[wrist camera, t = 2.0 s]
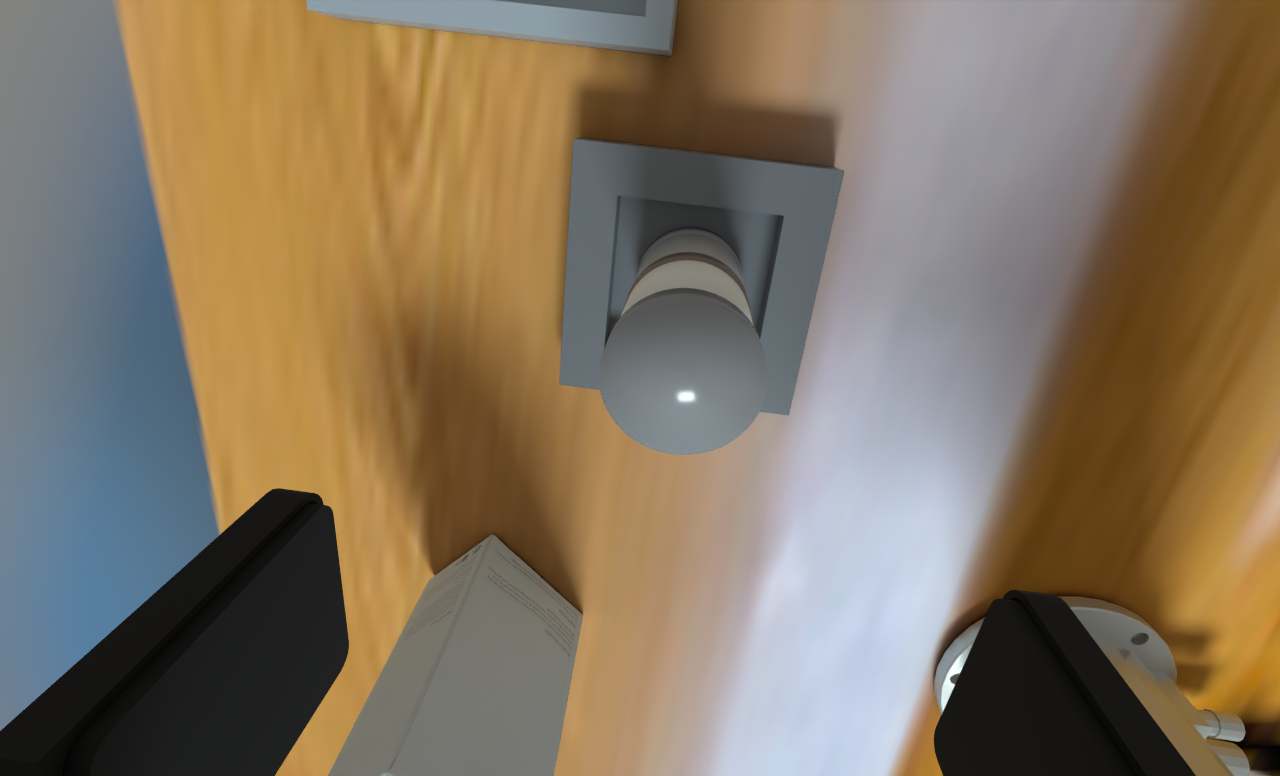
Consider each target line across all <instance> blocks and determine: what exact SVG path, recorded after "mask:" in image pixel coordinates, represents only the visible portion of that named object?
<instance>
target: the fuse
mask: <svg viewBox="0 0 1280 776" xmlns="http://www.w3.org/2000/svg"><path fill="white" fill-rule="evenodd" d="M767 384H768V371H767V364H766V359H765V356H764V352H763V348H762V345H761V341H760V338H759V336H758V333H757V331H756V329H755V327H754V326H753V322H752V315H751V308H750V304H749V300H748V297H747V293H746V290H745V288H744V278H743V272H742V268H741V265H740V261H739V259H738V256H737V254H736V252H735V251H734V249H733V248H732V246H731V245H730V244H729V243H728V242H727V241H726V240H725V239H724V238H723V237H721V236H720V235H718V234H717V233H715V232H713V231H711V230H708V229H705V228H700V227H681V228H676V229H673V230H670V231H668V232H666V233H664V234H663V235H661V236H660V237H658V238H657V239H656V240H655V241H654V242H652V244H651V245H650V246H649V247H648V248H647V250H646V252H645V253H644V255H643V257H642V259H641V262H640V264H639V267H638V270H637V273H636V279H635V281H634V283H633V285H632V287H631V289H630V291H629V294H628V296H627V299H626V302H625V305H624V309H623V312H622V315H621V317H620V318H619V320H618V321H617V323H616V324H615V326H614V327H613V330H612V332H611V334H610V336H609V338H608V341H607V343H606V346H605V348H604V350H603V354H602V357H601V360H600V367H599V386H600V392H601V395H602V399H603V402H604V404H605V406H606V409H607V411H608V412H609V414H610V416H611V417H612V419H613V420H614V421H615V423H616V424H617V425H618V426H619V427H620V428H621V429H622V430H623V431H624V432H625V433H626V434H627V435H628V436H630V437H631V438H632V439H634V440H635V441H637V442H639V443H640V444H642V445H644V446H646V447H649V448H651V449H654V450H657V451H660V452H664V453H669V454H678V455H691V454H699V453H704V452H708V451H712V450H715V449H717V448H720V447H722V446H724V445H726V444H728V443H730V442H731V441H733V440H734V439H736V438H737V437H738V436H740V435H741V434H742V433H743V432H744V431H745V430H746V429H747V428H748V427H749V426H750V425H751V423H752V422H753V421H754V420H755V418H756V416H757V415H758V413H759V412H760V409H761V407H762V405H763V403H764V399H765V396H766V392H767Z"/></svg>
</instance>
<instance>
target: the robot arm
mask: <svg viewBox="0 0 1280 776" xmlns="http://www.w3.org/2000/svg"><path fill="white" fill-rule="evenodd" d="M348 649H349V640H348V631H347V623H346V615H345V607H344V598H343V590H342V582H341V574H340V565H339V557H338V549H337V540H336V532H335V524H334V516H333V511H332V509H331V508H330V507H329V506H326V505H323V501H322V499H321V497H320V496H319V495H317V494H315V493H308V492H301V491H294V490H287V489H279V488H278V489H272V490H271V491H269V492H268V493H266V494H265V495H264V496H263V497H262V498H261V499H260V500H259V501H257V502H256V503H255V504H254V505H253V506H252V507H251V508H250V509H249V510H247V511H246V512H245V513H244V514H243V515H242V516H241V517H240V518H238V519H237V520H236V521H235V522H234V523H233V524H232V525H231V526H229V527H228V528H227V529H226V530H225V531H224V532H223V533H222V534H221V535H219V536H218V537H217V538H216V539H215V540H214V541H213V542H212V543H210V545H208V546H207V547H206V548H205V549H204V550H203V551H201V552H200V553H199V554H198V555H197V556H196V557H195V558H194V559H193V560H191V561H190V562H189V563H188V564H187V565H186V566H185V567H184V568H183V569H181V570H180V571H179V572H178V573H177V574H176V575H175V576H174V577H172V578H171V579H170V580H169V581H168V582H167V583H166V584H165V585H163V586H162V587H161V588H160V589H159V590H158V591H157V592H156V593H154V594H153V595H152V596H151V597H150V598H149V599H148V600H147V601H146V602H144V603H143V604H142V605H141V606H140V607H139V608H138V609H137V610H136V611H134V612H133V613H132V614H131V615H130V616H129V617H128V618H126V619H125V620H124V621H123V622H122V623H121V624H120V625H119V626H118V627H117V628H116V629H114V630H113V631H112V632H111V633H110V634H109V635H107V636H106V637H105V638H104V639H103V640H102V641H101V642H100V643H98V644H97V645H96V646H95V647H94V648H93V649H92V650H91V651H90V652H89V653H87V654H86V655H85V656H84V657H83V658H82V659H81V660H79V661H78V662H77V663H76V664H75V665H74V666H73V667H72V668H71V669H70V670H68V671H67V672H66V673H65V674H64V675H63V676H62V677H60V678H59V679H58V680H57V681H56V682H55V683H54V684H53V685H51V686H50V687H49V688H48V689H47V690H46V691H45V692H44V693H42V694H41V695H40V696H39V697H38V698H37V699H36V700H35V701H34V702H32V703H31V704H30V705H29V706H28V707H27V708H26V709H25V710H23V711H22V712H21V713H20V714H19V715H18V716H17V717H16V718H14V719H13V720H12V721H11V722H10V723H9V724H8V725H7V726H6V727H5V728H3V729H2V730H1V731H0V776H275V774H276V773H277V771H278V770H279V768H280V766H281V765H282V763H283V762H284V760H285V758H286V757H287V755H288V754H289V752H290V751H291V749H292V747H293V746H294V744H295V743H296V741H297V740H298V738H299V736H300V735H301V733H302V732H303V730H304V728H305V727H306V725H307V724H308V722H309V721H310V719H311V717H312V716H313V714H314V713H315V711H316V709H317V708H318V706H319V705H320V703H321V702H322V700H323V698H324V697H325V695H326V694H327V692H328V691H329V689H330V687H331V686H332V684H333V683H334V681H335V679H336V678H337V676H338V675H339V673H340V672H341V670H342V668H343V666H344V663H345V661H346V658H347V654H348ZM1176 679H1177V671H1176V665H1175V659H1174V657H1173V655H1172V653H1171V651H1170V649H1169V647H1168V645H1167V644H1166V643H1165V641H1164V640H1163V639H1162V638H1161V637H1160V636H1159V634H1158V633H1157V632H1156V631H1155V630H1154V629H1153V627H1152V626H1150V625H1149V624H1148V623H1147V622H1146V621H1145V620H1143V619H1142V618H1141V617H1140V616H1139V615H1137V614H1135V613H1133V612H1131V611H1129V610H1127V609H1126V608H1124V607H1122V606H1119V605H1116V604H1113V603H1110V602H1106V601H1103V600H1099V599H1092V598H1085V597H1057V596H1055V595H1048V594H1041V593H1034V592H1026V591H1019V590H1011V591H1009V592H1008V593H1006V594H1005V595H1004V597H1003V599H996V600H994V601H993V602H992V604H991V605H990V607H989V609H988V612H987V614H986V616H985V617H984V618H983V619H981V620H979V621H978V622H976V623H975V624H973V625H971V626H970V627H969V628H968V629H966V630H965V631H964V632H963V633H962V634H961V635H960V636H958V637H957V638H956V639H955V640H954V642H953V643H952V644H951V645H950V647H949V648H948V649H947V650H946V652H945V653H944V655H943V657H942V659H941V661H940V663H939V665H938V667H937V671H936V676H935V681H934V689H935V698H936V701H937V704H938V707H939V710H940V713H941V717H940V720H939V722H938V724H937V726H936V729H935V734H934V747H935V753H936V757H937V760H938V763H939V766H940V768H941V771H942V774H943V776H1249V770H1250V768H1249V763H1248V759H1247V757H1246V756H1245V754H1244V753H1243V751H1242V750H1241V749H1240V748H1239V747H1238V746H1237V745H1235V744H1233V743H1229V742H1224V741H1218V740H1211V739H1206V738H1207V736H1209V737H1213V738H1219V739H1226V740H1232V741H1240V740H1242V739H1243V738H1244V735H1245V728H1244V724H1243V723H1242V721H1241V720H1240V718H1239V717H1237V716H1236V715H1235V714H1233V713H1226V712H1219V711H1213V710H1206V709H1204V710H1198V709H1196V708H1195V707H1194V706H1193V705H1192V704H1191V703H1190V702H1189V700H1188V699H1187V698H1186V697H1185V696H1184V694H1183V693H1182V692H1181V691H1180V690H1179V688H1178V687H1177V686H1176Z"/></svg>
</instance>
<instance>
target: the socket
mask: <svg viewBox="0 0 1280 776" xmlns="http://www.w3.org/2000/svg"><path fill="white" fill-rule="evenodd" d="M843 174H844V171H843V170H840V169H838V168H835V167H828V166H819V165H811V164H802V163H794V162H785V161H777V160H768V159H760V158H752V157H743V156H735V155H726V154H718V153H709V152H701V151H692V150H684V149H676V148H667V147H659V146H650V145H642V144H633V143H625V142H616V141H608V140H600V139H591V138H583V137H582V138H576V139H573V157H572V174H571V191H570V208H569V225H568V243H567V260H566V277H565V294H564V312H563V329H562V346H561V363H560V380H559V384H560V385H567V386H575V387H582V388H590V389H597V390H600V386H599V367H600V360H601V357H602V354H603V350H604V348H605V346H606V343H607V341H608V338H609V336H610V334H611V332H612V330H613V327H614V326H615V324H616V323H617V321H618V320H619V318H620V317H621V315H622V312H623V309H624V305H625V302H626V299H627V296H628V294H629V291H630V289H631V287H632V285H633V283H634V281H635V279H636V273H637V270H638V267H639V264H640V262H641V259H642V257H643V255H644V253H645V252H646V250H647V248H648V247H649V246H650V245H651V244H652V242H654V241H655V240H656V239H657V238H658V237H660V236H661V235H663V234H664V233H666V232H668V231H670V230H673V229H676V228H681V227H700V228H705V229H708V230H711V231H713V232H715V233H717V234H718V235H720V236H721V237H723V238H724V239H725V240H726V241H727V242H728V243H729V244H730V245H731V246H732V248H733V249H734V251H735V252H736V254H737V256H738V259H739V261H740V265H741V268H742V272H743V278H744V288H745V290H746V293H747V297H748V300H749V304H750V308H751V315H752V322H753V326H754V327H755V329H756V331H757V333H758V336H759V338H760V341H761V345H762V348H763V352H764V356H765V359H766V364H767V371H768V384H767V392H766V396H765V399H764V403H763V405H762V407H761V409H760V412H767V413H775V414H782V415H789V412H790V407H791V403H792V398H793V394H794V390H795V385H796V381H797V376H798V372H799V368H800V363H801V359H802V354H803V350H804V346H805V341H806V337H807V332H808V328H809V324H810V319H811V315H812V310H813V306H814V302H815V297H816V293H817V288H818V284H819V280H820V275H821V271H822V266H823V262H824V258H825V253H826V249H827V244H828V240H829V236H830V231H831V227H832V222H833V218H834V214H835V209H836V205H837V200H838V196H839V192H840V187H841V183H842V178H843Z"/></svg>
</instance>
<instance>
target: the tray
mask: <svg viewBox="0 0 1280 776" xmlns="http://www.w3.org/2000/svg"><path fill="white" fill-rule="evenodd" d="M677 5H678V0H307V9H308V10H310V11H313V12H317V13H321V14H324V15H328V16H332V17H335V18H339V19H344V20H353V21H361V22H370V23H379V24H388V25H397V26H406V27H415V28H424V29H433V30H442V31H450V32H459V33H468V34H477V35H486V36H495V37H504V38H513V39H522V40H530V41H539V42H548V43H557V44H566V45H575V46H584V47H593V48H602V49H611V50H619V51H628V52H637V53H646V54H655V55H664V56H672V49H673V40H674V31H675V22H676V14H677Z"/></svg>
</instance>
